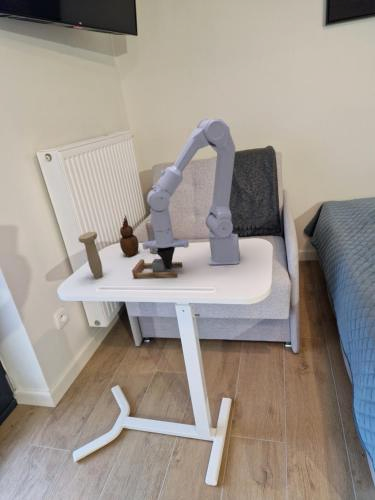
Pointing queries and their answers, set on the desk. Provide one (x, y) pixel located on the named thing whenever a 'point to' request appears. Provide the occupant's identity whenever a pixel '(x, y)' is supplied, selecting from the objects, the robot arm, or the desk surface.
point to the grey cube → (158, 266)
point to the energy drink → (151, 234)
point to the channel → (141, 266)
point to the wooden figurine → (128, 239)
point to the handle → (92, 253)
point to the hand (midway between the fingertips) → (169, 268)
